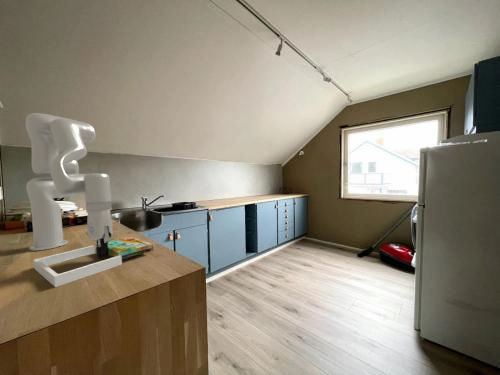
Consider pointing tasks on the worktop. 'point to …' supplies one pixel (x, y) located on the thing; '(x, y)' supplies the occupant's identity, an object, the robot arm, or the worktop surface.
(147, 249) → the rail
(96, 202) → the robot arm
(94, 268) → the frame
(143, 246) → the puzzle game
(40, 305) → the worktop surface
